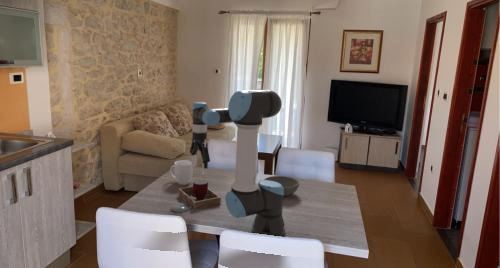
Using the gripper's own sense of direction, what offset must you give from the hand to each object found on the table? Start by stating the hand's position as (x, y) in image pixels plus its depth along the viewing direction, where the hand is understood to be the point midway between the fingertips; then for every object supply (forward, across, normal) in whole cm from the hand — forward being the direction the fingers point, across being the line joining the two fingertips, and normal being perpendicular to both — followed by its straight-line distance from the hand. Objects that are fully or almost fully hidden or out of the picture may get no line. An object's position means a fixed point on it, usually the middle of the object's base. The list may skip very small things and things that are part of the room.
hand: (199, 170), depth 193 cm
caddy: (+17, 0, 0) cm, 17 cm away
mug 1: (+17, +29, -2) cm, 34 cm away
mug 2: (+17, 0, 0) cm, 17 cm away
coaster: (+17, -6, +13) cm, 22 cm away
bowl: (+17, -14, -45) cm, 50 cm away
